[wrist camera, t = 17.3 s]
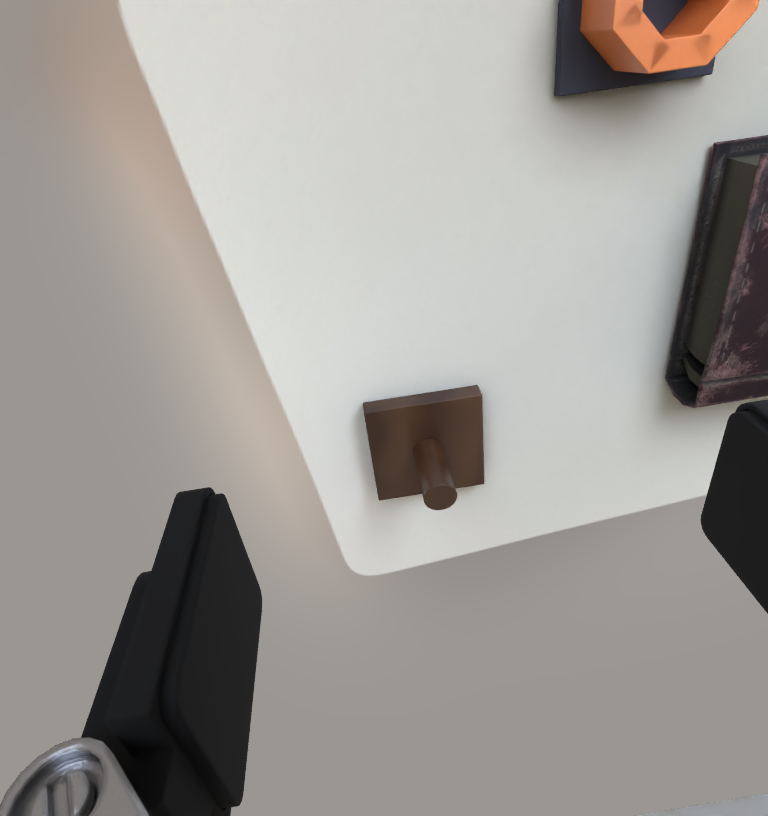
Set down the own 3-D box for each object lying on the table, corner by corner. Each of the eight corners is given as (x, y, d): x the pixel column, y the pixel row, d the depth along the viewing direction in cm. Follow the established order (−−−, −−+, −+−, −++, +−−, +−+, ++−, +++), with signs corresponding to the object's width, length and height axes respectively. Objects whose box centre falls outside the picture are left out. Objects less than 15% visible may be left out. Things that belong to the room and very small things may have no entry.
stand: (377, 489, 47) (385, 550, 42) (362, 402, 42) (369, 458, 37) (480, 472, 48) (502, 532, 42) (477, 384, 43) (502, 437, 37)
